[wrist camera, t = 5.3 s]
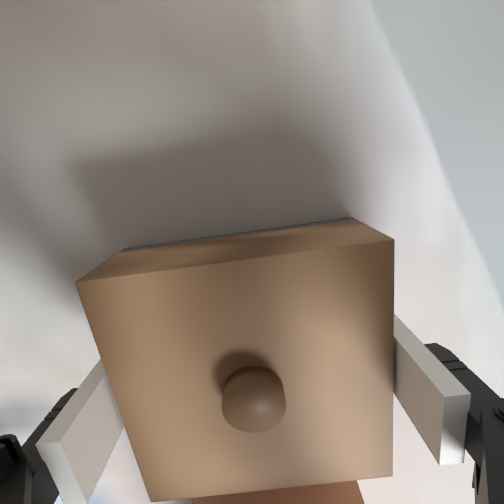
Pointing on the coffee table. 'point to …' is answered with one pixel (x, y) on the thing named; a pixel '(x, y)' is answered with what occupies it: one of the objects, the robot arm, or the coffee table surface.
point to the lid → (251, 358)
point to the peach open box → (293, 495)
